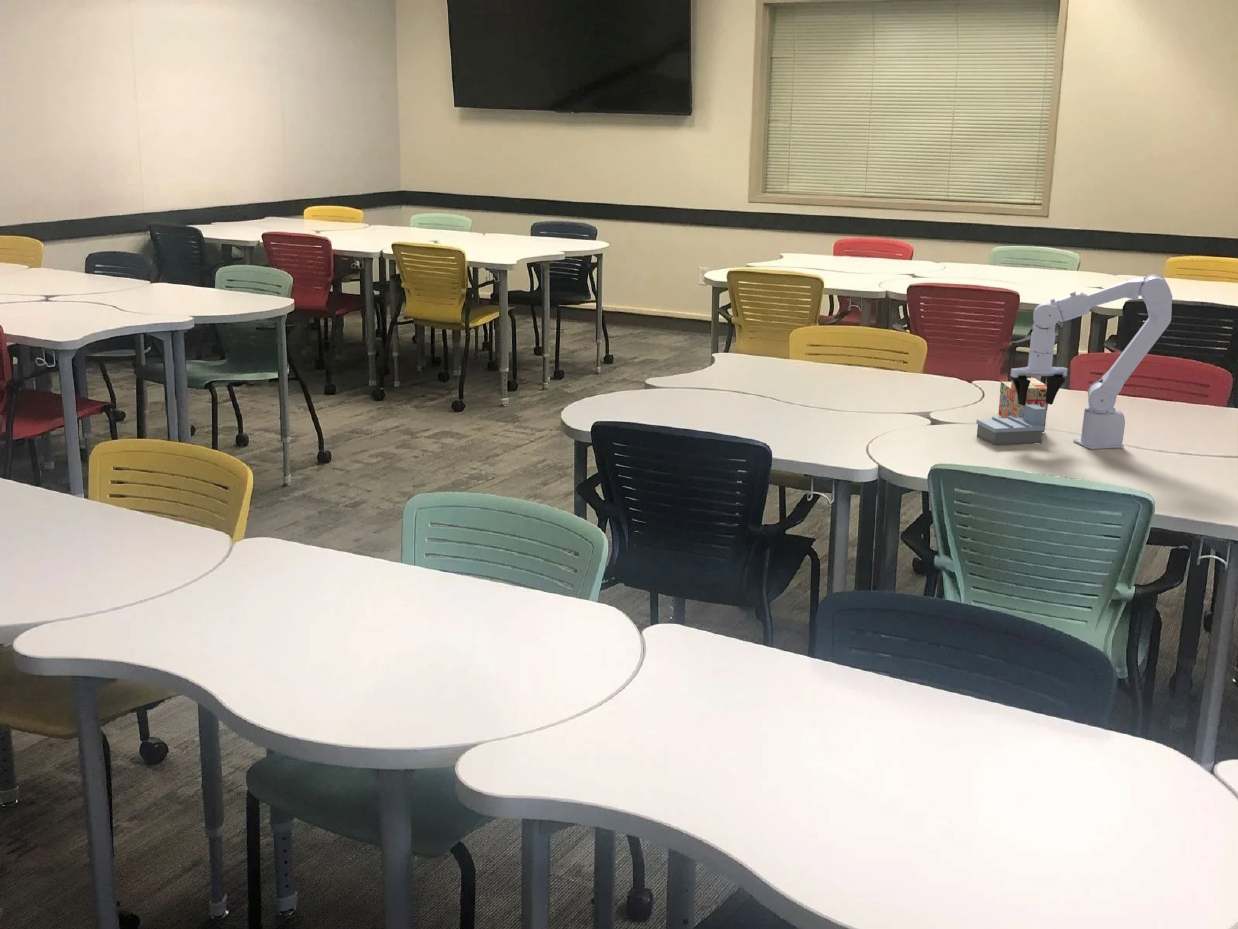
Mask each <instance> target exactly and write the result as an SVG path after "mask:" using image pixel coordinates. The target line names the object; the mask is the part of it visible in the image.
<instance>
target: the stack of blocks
mask: <svg viewBox="0 0 1238 929" xmlns="http://www.w3.org/2000/svg"><path fill="white" fill-rule="evenodd" d="M1026 378H1027V379H1028V380H1030V381H1031V382H1030V384H1029V387H1028V391H1027V397H1026V404H1025V405H1031V404H1036V405H1038V406H1041V407H1043V408H1045V409H1046V414H1045V423H1044V424H1040V425H1043V426H1045V427H1046V425H1047V424H1046V419H1047V413H1048V412H1047V411H1048V408H1049V404H1048V403H1046V392H1047V384H1046V383H1043V382H1042V381H1040V380H1038V379H1037V378H1035V377H1026ZM998 403H999V404H998V414H999V415H1000V416H1001V417H1002V418H1008V416H1011V417H1014V418H1024V409H1025V405H1024V406H1022V405H1020V404H1019V403H1018V395H1017V391H1016V387H1015V385H1014V382H1013V380H1012V379H1011V381H1001V382H1000V389H999V402H998ZM1045 430H1046V429H1045ZM1045 430H1043V432H1044V433H1045Z"/></svg>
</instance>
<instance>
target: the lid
mask: <svg viewBox="0 0 1238 929" xmlns="http://www.w3.org/2000/svg"><path fill="white" fill-rule="evenodd" d="M1045 414H1046V409H1045V408H1043V407H1041V406H1038V405H1036V404H1031V405H1025V409H1024V418H1014V417H1011V416H1008V418H1003V417H1002V418H1001V417H1000V418H999V417H996V416H992V417H991V418H985V419H984V418H982V419H979V418H977V419H976V423H975V424H977V425H978V424H979V425H981V426H983V427H985V428H987V429H989V430H991V431H993V432H995V433H998V432H1020V431H1043V430H1046V425H1045V426H1043V425H1040V424H1044V423H1045V422H1046V421H1045ZM1046 415H1047V414H1046Z"/></svg>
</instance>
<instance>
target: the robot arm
mask: <svg viewBox="0 0 1238 929" xmlns="http://www.w3.org/2000/svg"><path fill="white" fill-rule="evenodd" d="M1139 297H1141V299H1142V300H1143V302H1144V304H1145V305H1146V311H1147V315H1148V318H1147V319H1146V320H1145V322H1143V324H1142V325H1141V327H1140V328H1139V330H1138V331H1137V333H1136V334H1135V335H1134V336H1133V337H1132V339H1131V340H1130V341H1129V343H1128V344H1127V345H1126V347H1125V348H1124V350H1123V351H1122V352H1121V354H1120V355H1119V356H1118V358H1117V359H1116V360H1115V361H1114V363H1113V364H1112V365H1111V366H1110V368H1109V370H1107V372H1105V373H1104V374H1103V376H1102V377H1101V378H1100V379H1099V380H1097V381H1095V382H1093V383H1092V384H1090V386H1089V388H1088V390H1087V397H1088V400H1087V401H1088V404H1087V405H1086V406H1084V410H1083V419H1082V428H1081V436H1080V438H1075V439H1072V440H1073V442H1074V443H1077V444H1079V445H1080V446H1084V447H1086V448H1087V449H1090V450H1097V449H1099V450H1100V449H1115V448H1116V449H1117V448H1119V449H1120V448H1124V447H1125V445H1124V444H1123V442H1124V435H1125V434H1124V433H1125V429H1126V428H1125V426H1126V425H1125V424H1126V419H1125V414H1124V413H1123V412H1122V411H1121V410H1119V409H1116V408H1115V406H1116V402H1117V396H1118V395H1119V393H1121V391H1122V389H1123V387H1124V385H1125V383H1126V382H1127V380H1128V379H1129V377H1131V375H1132V373H1133V372H1134V371H1135V370H1136V368H1137V367H1138V365H1139V364H1140V363H1141V362H1142V361H1143V359H1144V358H1145V357H1146V356H1147V354H1148V353H1149V351H1150V350H1151V349H1152V347H1153V346H1154V345H1155V343H1156V342H1157V341H1158V340H1159V338H1160V337H1161V336H1162V334H1163V333H1164V332H1165V331H1166V329H1167V328H1168V327H1169V325H1170V324H1171V321H1172V311H1173V308H1172V305H1173V303H1172V302H1173V294H1172V291H1171V287H1170V285H1169V284H1168V282H1167V280H1166V279H1165V277H1163V276H1162V275H1159V274H1156V273H1155V274H1154V273H1152V274H1148V275H1146V276H1144V277H1143V276H1139V277H1135V278H1131V279H1129V280H1125V281H1121V282H1119V283H1117V284H1114V285H1111V286H1108V287H1106V288H1103V289H1100V290H1098V291H1095V292H1092V293H1089V294H1088V293H1087V294H1086V293H1084V292H1082V291H1079V292H1076V290H1074V291H1071V292H1069V295H1066V296H1064V297H1060V298H1057V299H1055V298H1052V299H1050V300H1049V301H1050V302H1042V303H1040V304H1038V305H1037V306H1036V307H1035V309H1034V310H1033V312H1032V313H1033V314H1032V316H1033V317H1032V318H1033V319H1032V320H1033V324H1032V327H1031V328H1032V332H1031V336H1030V345H1029V352H1028V361H1027V366H1025V367H1024V366H1023V367H1017V368H1015V367H1014V368H1011V369H1010V377H1011V381H1012V380H1013V382H1014V385H1015V387H1016V391H1017V395H1018V403H1019V404H1020V405H1022V406H1024V405H1025V404H1026V397H1027V391H1028V387H1029V384H1030V382H1031V381H1030V380H1028V379H1027V378H1031V377H1045V379H1046V386H1047V392H1046V403H1048V405H1053V404H1054V401H1055V399H1056V396H1057V394H1058V392H1059V390H1060V388H1062V386H1063V384H1064V383H1065V382H1066V377H1067V376H1068V369H1069V368H1067V367H1063V366H1053V359H1054V350H1055V343H1056V342H1055V341H1056V333H1055V332H1056V324H1057V323H1058V322H1060V323H1063V322H1067V321H1070V320H1072V319H1076V318H1079V317H1082V316H1086V315H1088V314H1089V312H1090V310H1091V308H1093V307H1097V306H1100V305H1103V304H1107V303H1111V302H1114V301H1117V300H1118V301H1119V300H1122V299H1125V298H1126V299H1131V300H1135V301H1140V300H1139Z"/></svg>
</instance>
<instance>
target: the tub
mask: <svg viewBox="0 0 1238 929" xmlns="http://www.w3.org/2000/svg"><path fill="white" fill-rule="evenodd" d="M1042 432H1043V431H1020V432H998V433H995V432H993V431H991V430H989V429H987V428H985V427H983V426H981V425H979V424H977V429H976V438H979V440H982V441H984V442H985V443H988V444H990V445H992V446H994V447H995V446H996V447H997V446H998V447H999V446H1018V445H1020V446H1021V445H1035V444H1034V443H1041V444H1042V441H1043V433H1042Z"/></svg>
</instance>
